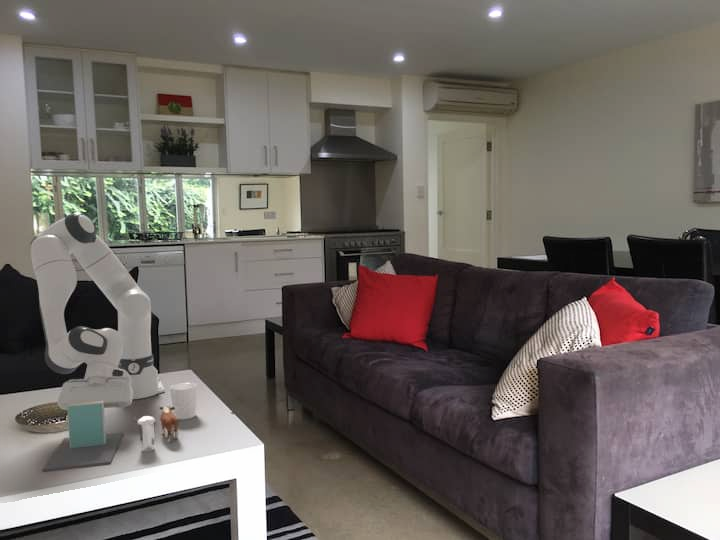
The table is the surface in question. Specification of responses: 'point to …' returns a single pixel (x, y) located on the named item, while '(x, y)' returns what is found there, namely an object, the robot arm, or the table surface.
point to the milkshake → (146, 433)
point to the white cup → (184, 400)
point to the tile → (86, 424)
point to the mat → (83, 454)
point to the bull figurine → (169, 421)
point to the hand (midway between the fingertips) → (90, 420)
